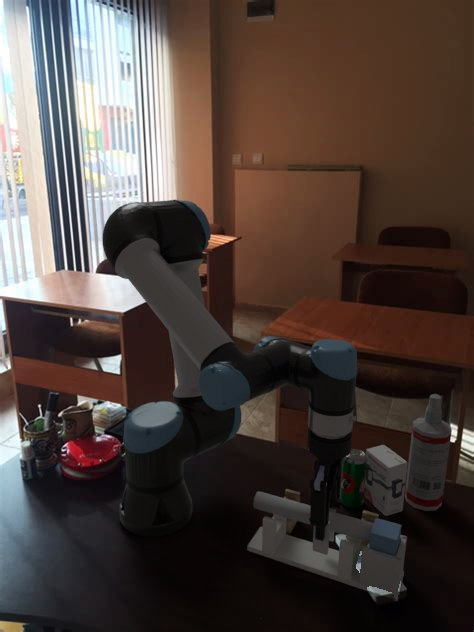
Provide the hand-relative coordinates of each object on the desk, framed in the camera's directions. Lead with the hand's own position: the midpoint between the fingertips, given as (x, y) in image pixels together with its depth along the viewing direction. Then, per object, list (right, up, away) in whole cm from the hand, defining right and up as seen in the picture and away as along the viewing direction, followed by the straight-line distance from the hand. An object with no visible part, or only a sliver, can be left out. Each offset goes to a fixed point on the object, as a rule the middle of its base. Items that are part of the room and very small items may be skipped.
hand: (323, 544), depth 99 cm
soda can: (+9, +1, +19) cm, 21 cm away
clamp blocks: (+1, -2, +9) cm, 9 cm away
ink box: (+16, +1, +19) cm, 25 cm away
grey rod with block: (0, +4, -1) cm, 4 cm away
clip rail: (0, -4, +1) cm, 4 cm away
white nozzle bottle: (+25, +1, +20) cm, 32 cm away
